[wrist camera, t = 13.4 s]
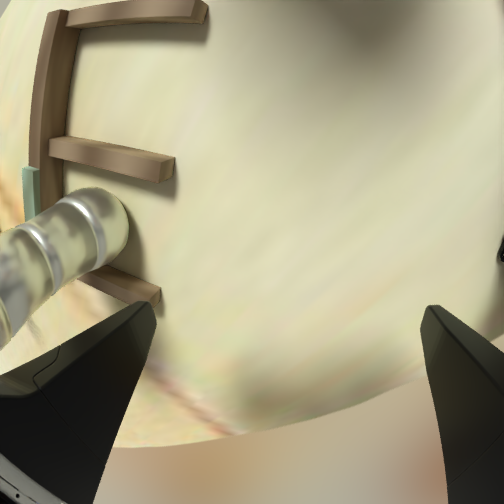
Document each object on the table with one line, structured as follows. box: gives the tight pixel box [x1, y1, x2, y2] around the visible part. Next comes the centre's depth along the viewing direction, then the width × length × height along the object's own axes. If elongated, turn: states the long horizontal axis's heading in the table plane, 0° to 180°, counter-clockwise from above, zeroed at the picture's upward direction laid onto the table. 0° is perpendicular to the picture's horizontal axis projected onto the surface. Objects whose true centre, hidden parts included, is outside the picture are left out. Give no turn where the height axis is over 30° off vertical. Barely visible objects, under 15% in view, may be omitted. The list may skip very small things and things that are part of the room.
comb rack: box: [22, 0, 208, 308], centre depth 20 cm, size 14×24×4 cm, turn 167°
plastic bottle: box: [0, 187, 129, 350], centre depth 16 cm, size 6×7×20 cm
